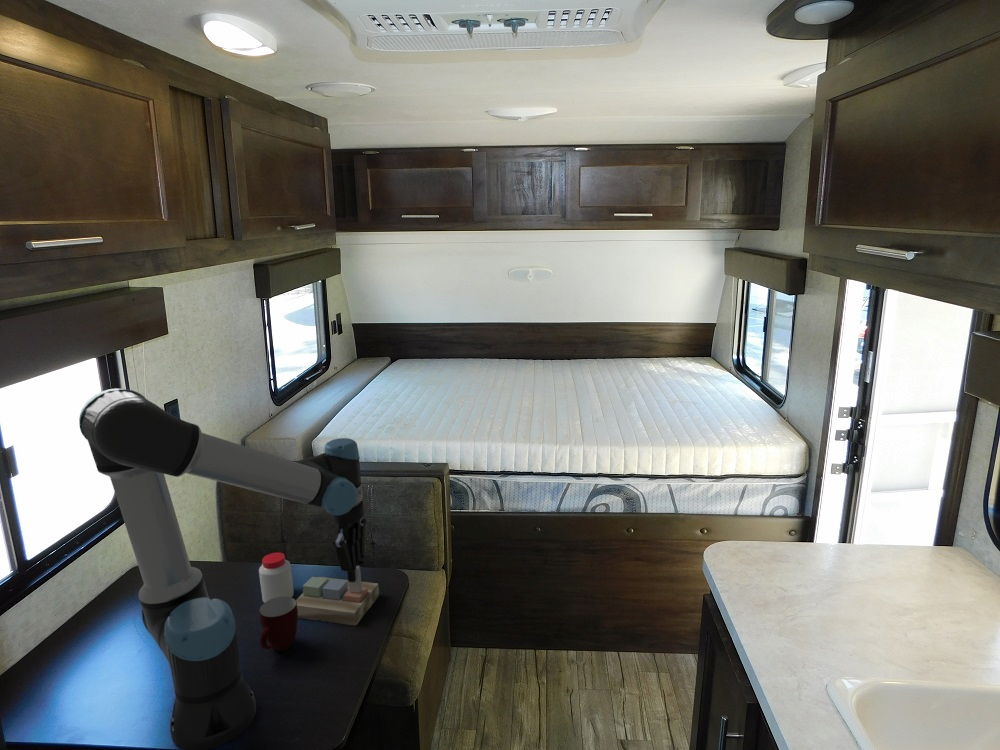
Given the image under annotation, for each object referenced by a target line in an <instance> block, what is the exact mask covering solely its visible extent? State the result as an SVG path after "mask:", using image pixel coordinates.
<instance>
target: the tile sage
mask: <svg viewBox="0 0 1000 750" xmlns="http://www.w3.org/2000/svg"><path fill="white" fill-rule="evenodd" d="M319 577H320V576H317V577H315V576H311V577H310V578H309V579H308V580H307V581H306V582H305V583H304V584H303V585H302V593H304V596H307V597H315V598H321V597H322V595H323V587H324V586H325V585H326V584H327V583H328V579H327V578H328V577H325V578H319Z"/></svg>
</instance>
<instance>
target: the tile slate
mask: <svg viewBox="0 0 1000 750" xmlns="http://www.w3.org/2000/svg"><path fill="white" fill-rule="evenodd" d="M336 579H337V578H334V579H331V580H330V581H329V582H328V583H327V584H326V585H325V586H324V587H323V597H324V599H331V600H339V601H340V600H341V599H342V598H343V595H344V594H345V593H346V592H347V591H348V585H347V581H345V580H346V579H343V580H336Z"/></svg>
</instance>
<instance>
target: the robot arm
mask: <svg viewBox="0 0 1000 750" xmlns="http://www.w3.org/2000/svg"><path fill="white" fill-rule="evenodd" d="M79 429H80V432H81V435H82V436H83V437H84V439H86V440H87V442H88V445H89V447H90V452H91V454H92V458H93V460H94V464H95V466H96V468H97V469H96V470H97V472H98V473H100V474H101V475H105V476H107V477H109V479H110V482H111V484H112V487H113V490H114V493H115V497H116V500H117V503H118V507H119V509H120V512H121V516H122V519H123V523H124V525H125V528H126V532H127V534H128V538H129V541H130V544H131V547H132V550H133V554H134V556H135V559H136V562H137V566H138V569H139V573H140V575H141V579H142V581H143V585H142V586H141V588H140V589H139V591H138V594H137V595H138V600H139V602H140V605H141V611H140V612H141V613H140V614H141V619H142V620H141V621H142V624H143V625H144V628H145V629H146V631H147V632H148V633H149V634H150V635H151V637H152V638H153V640H154V641H155V643H156V644H157V646H158V648H160V650H161V652H162V654H163V655H164V656H165V658H166V660H167V662H168V665H169V668H170V673H171V677H172V678H171V679H172V684H173V689H174V695H175V698H174V703H173V707H172V713H171V717H170V721H169V729H170V735H171V736H170V737H171V739H172V742H173V743H175V744H176V745H177V746H176V745H175V744H174V745H175V746H176V747H177V748H179V747H180V749H182V750H212V749H215V748H219V747H221V746H223V745H226V744H228V743H229V742H231V741H233V740H235V739H236V738H237V737H238V736H240V735H241V734H242V733H243V732H244V731H246V730H247V729H248V728H249V726H250V725H251V723H253V720H254V719H255V717H256V713H257V703H256V697H255V694H254V692H253V690H252V689H251V687H250V686H249V683H247V681H246V678H245V677H244V675H243V673H242V668H241V660H240V653H239V647H238V646H239V645H238V640H237V639H238V637H237V632H236V631H237V629H236V620H235V617H234V615H233V611H232V608H231V607H230V605H229V604H228V603H227V602H225V601H224V600H222V599H220V598H216V597H214V598H212V599H211V597H209V595H208V590H207V587H206V584H205V580H204V578H203V577H204V576H203V573H202V571H201V570H200V569H199V568H197V567H194V566H191V561H190V559H189V556H188V551H187V548H186V546H185V542H184V538H183V534H182V531H181V528H180V524H179V522H178V519H177V514H176V511H175V507H174V503H173V501H172V497H171V494H170V490H169V486H168V482H167V479H166V476H165V475H168V476H172V477H176V478H178V477H181V476H183V475H184V474H188V475H191V476H196V477H200V478H203V479H206V480H207V479H208V480H211V481H216V482H219V483H222V484H223V483H224V484H226V485H231V486H234V487H238V488H241V489H247V490H250V491H254V492H259V493H262V494H266V495H269V496H273V497H277V498H281V499H285V500H289V501H293V502H297V503H300V504H304V505H307V506H312V507H315V508H319V509H321V510H323V511H324V512H325V513H327V514H331V518H332V521H333V522H335V523H336V524H337V531H336V532H337V534H338V535H337V538H336V539H333V540H332V545H333V547H334V548H335V551H336V555H337V559H338V562H339V565H340V570H341V572H347V580H348V582H349V592H356V593H360V592H361V590H362V583H361V582H362V576H361V566H363V565H364V563H365V561H363V560H362V559H364V558H365V541H366V540H365V538H366V537H365V534H366V533H365V532H366V531H365V529H366V523H367V519H366V518H364V516H365V508H364V507H365V506H364V501H363V494H364V491H363V489H362V479H361V478H362V476H361V466H360V459H361V458H360V454H359V447H358V443H357V441H356V440H354V439H351V438H348V437H344V438H343V437H342V438H334V439H331V440H330V441H327V442H326V443H325V445H324V450H323V451H324V452H323V453H320V454H318V455H315V456H311V457H308V458H304V459H299V460H297V461H293V460H290V459H287V458H284V457H281V456H279V455H278V456H277V455H274V454H271V453H267V452H264V451H261V450H259V449H255V448H253V447H249V446H245V445H243V444H240V443H235V442H233V441H230V440H226V439H225V438H220V437H217V436H214V435H210V434H207V433H204V432H202V430H201V427H200V426H199V425H197V424H194V423H191V422H189V421H185V420H183V419H181V418H179V417H177V416H175V415H173V414H171V413H170V412H168V411H166V410H165V409H163V408H162V407H160V406H159V405H157V404H155V403H154V402H152V401H151V400H148V399H147V398H146V397H145V396H144V395H143V394H141V393H139V392H137V391H135V390H131V389H126V388H111V389H110V388H109V389H106V390H103V391H100V392H98V393H96V394H94V395H93V396H92V397H90V399H88V400H87V402H85V404H84V405H83V406H82V408H81V411H80V414H79Z"/></svg>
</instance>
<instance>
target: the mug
mask: <svg viewBox="0 0 1000 750" xmlns="http://www.w3.org/2000/svg"><path fill="white" fill-rule="evenodd" d="M296 600H297V599H296V598H293V597H292V598H291V597H277V598H273V599H271V600H269V601H267V602H265V603H264V602H263V604H261V605H260V606H259V609H258V612H259V620H260V624H261V627H262V631H261V633H260V634H261V635H260V639H259V642H260V646H261V648H262V649H264V650H270V649H274V650H275V651H278V652H279V651H280V652H282V651H285V650H287V649H289V648H290V647H292V645H293V643H294V640H295V638H296V635H297V631H298V630H297V629H298V628H297V627H298V610H297V603H296Z"/></svg>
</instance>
